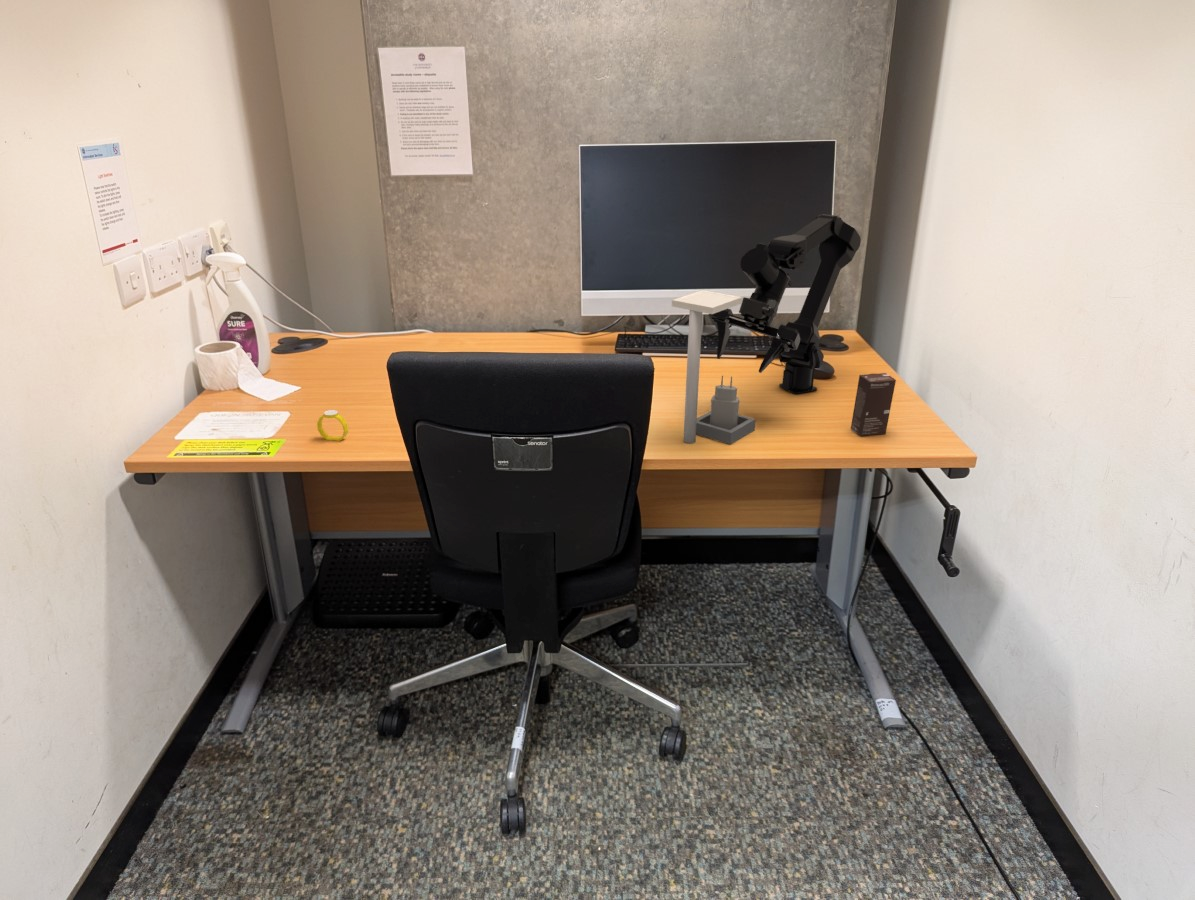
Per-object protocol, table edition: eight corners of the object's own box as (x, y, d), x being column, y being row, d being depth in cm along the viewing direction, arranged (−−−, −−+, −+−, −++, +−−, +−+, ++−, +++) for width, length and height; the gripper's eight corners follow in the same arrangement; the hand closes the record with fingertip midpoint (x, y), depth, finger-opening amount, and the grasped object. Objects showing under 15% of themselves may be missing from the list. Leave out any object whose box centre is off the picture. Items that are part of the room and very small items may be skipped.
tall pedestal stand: (706, 416, 173) (714, 286, 162) (754, 430, 167) (766, 295, 155) (666, 437, 163) (671, 300, 151) (716, 453, 156) (725, 310, 145)
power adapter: (735, 435, 164) (739, 379, 159) (708, 432, 166) (712, 377, 161) (737, 429, 167) (741, 374, 162) (711, 426, 168) (715, 372, 163)
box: (861, 437, 163) (869, 381, 158) (849, 429, 167) (857, 374, 162) (888, 434, 164) (897, 379, 159) (876, 426, 168) (884, 371, 163)
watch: (350, 439, 163) (349, 411, 161) (344, 444, 161) (342, 417, 158) (323, 434, 164) (321, 407, 162) (316, 440, 162) (314, 412, 159)
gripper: (718, 268, 162) (689, 339, 161) (807, 293, 156) (777, 367, 154) (728, 290, 173) (700, 356, 172) (811, 314, 166) (783, 383, 165)
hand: (738, 365), depth 165 cm, fingers open, 9 cm apart
